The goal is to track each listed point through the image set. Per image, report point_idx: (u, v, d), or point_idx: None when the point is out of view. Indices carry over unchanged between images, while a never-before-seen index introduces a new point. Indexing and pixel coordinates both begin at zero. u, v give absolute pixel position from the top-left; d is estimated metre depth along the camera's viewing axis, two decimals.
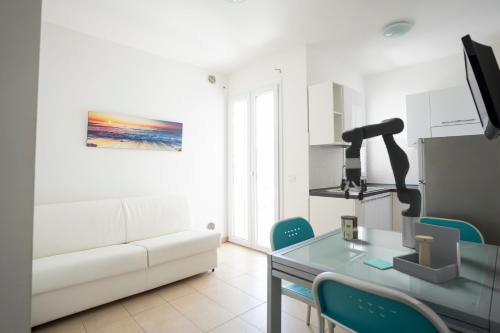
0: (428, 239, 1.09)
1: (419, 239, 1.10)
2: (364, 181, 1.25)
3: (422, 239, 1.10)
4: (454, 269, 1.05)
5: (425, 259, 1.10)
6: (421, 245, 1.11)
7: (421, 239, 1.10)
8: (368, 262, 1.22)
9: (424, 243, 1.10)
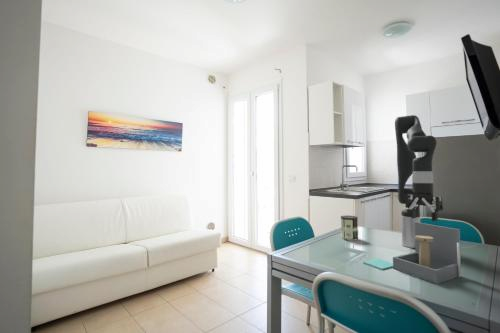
0: (428, 239, 1.09)
1: (419, 239, 1.10)
2: (440, 199, 1.06)
3: (422, 239, 1.10)
4: (454, 269, 1.05)
5: (425, 259, 1.10)
6: (421, 245, 1.11)
7: (421, 239, 1.10)
8: (368, 262, 1.22)
9: (424, 243, 1.10)
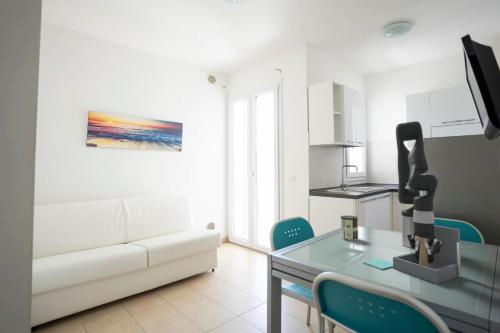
0: None
1: (419, 239, 1.10)
2: (440, 244, 1.05)
3: (422, 239, 1.10)
4: (454, 269, 1.05)
5: (425, 259, 1.10)
6: (421, 245, 1.11)
7: (421, 239, 1.10)
8: (368, 262, 1.22)
9: (424, 243, 1.10)
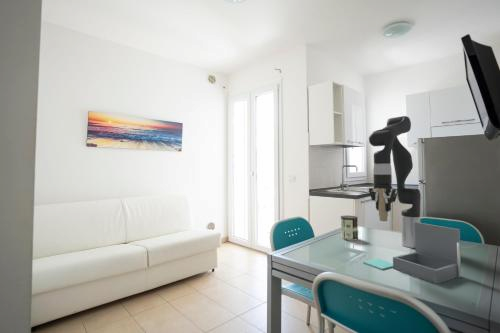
0: None
1: (378, 190, 1.19)
2: (395, 192, 1.14)
3: (380, 190, 1.18)
4: (454, 269, 1.05)
5: (383, 208, 1.18)
6: (380, 196, 1.20)
7: (379, 190, 1.19)
8: (368, 262, 1.22)
9: (382, 193, 1.19)
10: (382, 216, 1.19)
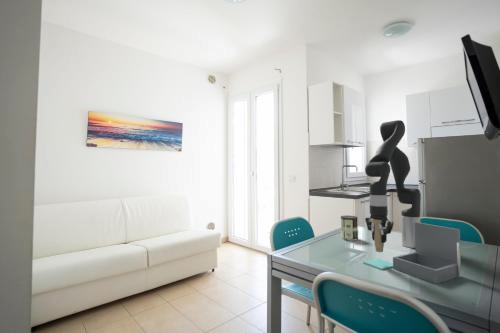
0: (381, 221, 1.19)
1: (374, 221, 1.20)
2: (391, 224, 1.15)
3: (376, 221, 1.19)
4: (454, 269, 1.05)
5: (378, 239, 1.19)
6: (375, 226, 1.21)
7: (375, 221, 1.20)
8: (368, 262, 1.22)
9: None
10: (378, 247, 1.20)
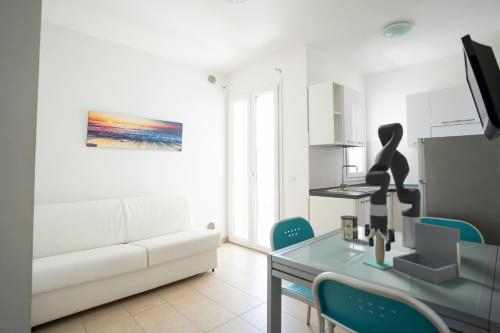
0: None
1: (375, 233, 1.20)
2: (392, 231, 1.15)
3: (377, 233, 1.19)
4: (454, 269, 1.05)
5: (379, 251, 1.19)
6: (377, 238, 1.20)
7: (377, 233, 1.19)
8: (368, 262, 1.22)
9: (379, 236, 1.19)
10: (378, 259, 1.19)
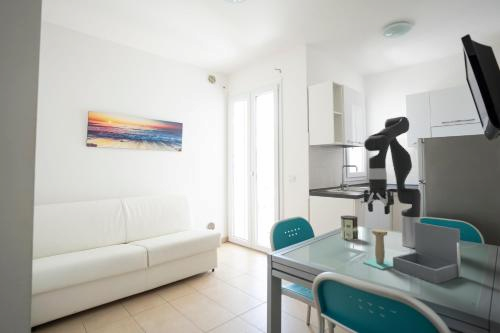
0: (382, 233, 1.18)
1: (374, 233, 1.20)
2: (391, 193, 1.15)
3: (377, 233, 1.19)
4: (454, 269, 1.05)
5: (379, 251, 1.19)
6: (376, 238, 1.21)
7: (376, 233, 1.20)
8: (368, 262, 1.22)
9: (379, 236, 1.20)
10: (378, 259, 1.20)
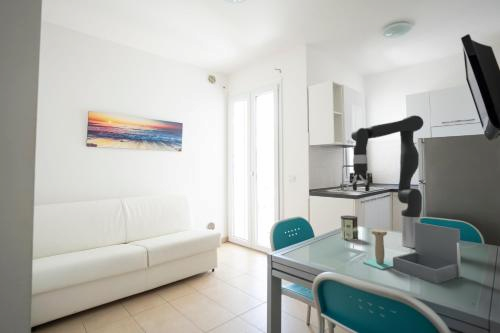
0: (382, 233, 1.18)
1: (374, 233, 1.20)
2: (370, 174, 1.44)
3: (376, 233, 1.19)
4: (454, 269, 1.05)
5: (379, 251, 1.19)
6: (376, 238, 1.21)
7: (376, 233, 1.20)
8: (368, 262, 1.22)
9: (378, 236, 1.20)
10: (378, 259, 1.20)
